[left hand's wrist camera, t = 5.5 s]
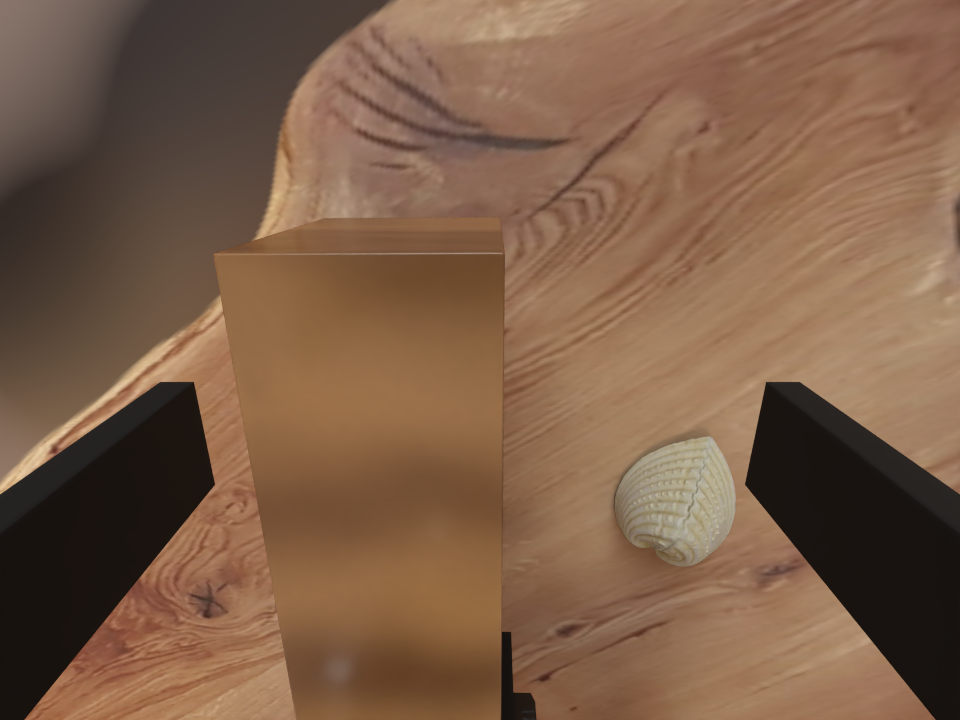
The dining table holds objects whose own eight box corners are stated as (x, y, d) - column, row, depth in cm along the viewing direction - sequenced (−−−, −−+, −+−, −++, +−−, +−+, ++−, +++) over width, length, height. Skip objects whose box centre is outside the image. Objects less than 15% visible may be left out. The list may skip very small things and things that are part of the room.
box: (323, 218, 25) (211, 253, 15) (500, 217, 25) (504, 251, 15) (370, 671, 35) (322, 871, 25) (497, 673, 34) (499, 875, 25)
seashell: (586, 545, 40) (620, 499, 34) (626, 462, 45) (662, 408, 39) (689, 608, 38) (746, 571, 32) (719, 514, 43) (772, 466, 37)
